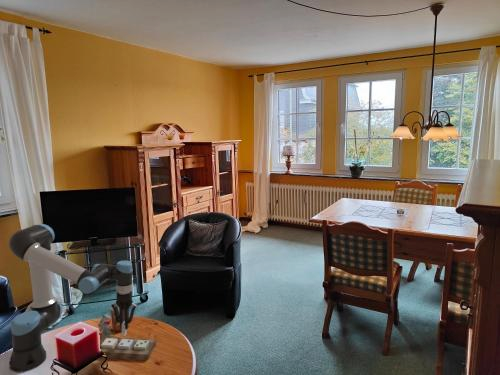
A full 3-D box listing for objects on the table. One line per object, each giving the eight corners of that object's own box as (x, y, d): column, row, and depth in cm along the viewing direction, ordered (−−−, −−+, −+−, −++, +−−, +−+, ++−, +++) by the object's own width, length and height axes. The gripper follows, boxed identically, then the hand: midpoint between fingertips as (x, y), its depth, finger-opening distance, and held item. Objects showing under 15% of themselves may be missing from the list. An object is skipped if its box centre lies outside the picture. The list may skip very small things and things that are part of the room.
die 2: (117, 353, 173) (117, 345, 173) (122, 346, 179) (122, 338, 178) (128, 354, 173) (128, 346, 172) (133, 347, 179) (133, 339, 178)
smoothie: (112, 326, 199) (112, 293, 196) (127, 325, 200) (127, 293, 198) (109, 334, 191) (108, 300, 188) (125, 332, 192) (124, 299, 189)
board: (93, 356, 170) (92, 351, 170) (105, 341, 183) (105, 336, 183) (147, 360, 169) (147, 354, 168) (156, 344, 182) (156, 339, 181)
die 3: (133, 354, 173) (133, 346, 172) (138, 347, 179) (138, 339, 178) (145, 355, 172) (145, 347, 172) (149, 348, 178) (149, 340, 178)
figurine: (99, 343, 181) (98, 317, 179) (96, 336, 188) (95, 311, 186) (115, 339, 186) (114, 313, 184) (112, 332, 192) (111, 307, 190)
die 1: (101, 352, 174) (101, 344, 173) (106, 345, 179) (106, 337, 179) (112, 353, 173) (112, 345, 173) (117, 346, 179) (117, 338, 179)
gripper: (108, 293, 168) (108, 337, 171) (134, 295, 168) (133, 339, 171) (115, 287, 176) (115, 329, 179) (139, 289, 175) (139, 331, 178)
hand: (124, 334), depth 175 cm, fingers closed
